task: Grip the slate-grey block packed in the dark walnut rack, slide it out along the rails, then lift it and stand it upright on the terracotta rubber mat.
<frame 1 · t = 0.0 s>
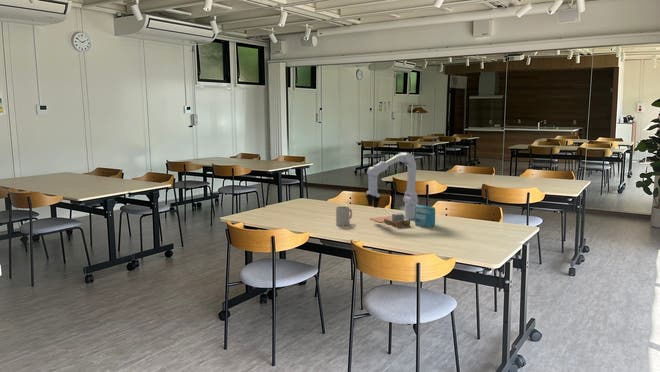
hand: (372, 206, 336), 10 cm above the table, tool pointing down, fingers open, 7 cm apart
mug: (344, 224, 332), on the table
blank block: (398, 225, 327), resting in rack
mat: (385, 219, 343), on the table
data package: (424, 226, 324), on the table
rack: (396, 224, 329), on the table
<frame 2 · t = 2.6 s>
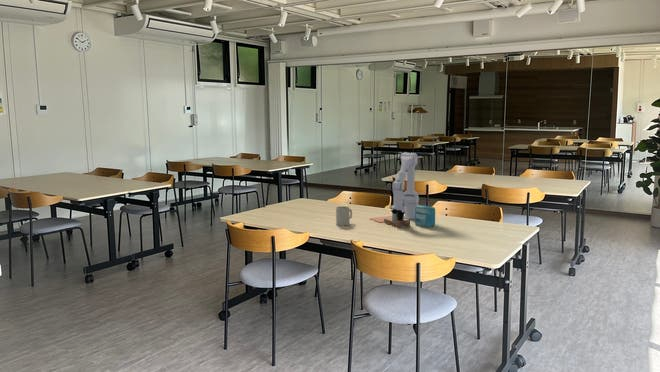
hand: (398, 221, 327), 2 cm above the table, tool pointing down, fingers closed on blank block, 4 cm apart
blank block: (398, 225, 327), resting in rack, touching gripper
everything else where it was.
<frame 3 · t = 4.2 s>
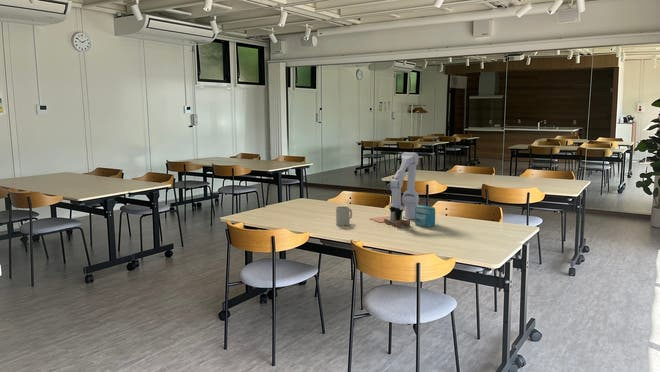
hand: (396, 219, 329), 3 cm above the table, tool pointing down, fingers closed on blank block, 4 cm apart
blank block: (396, 222, 329), point 1 cm above the table, touching gripper
everything else where it was.
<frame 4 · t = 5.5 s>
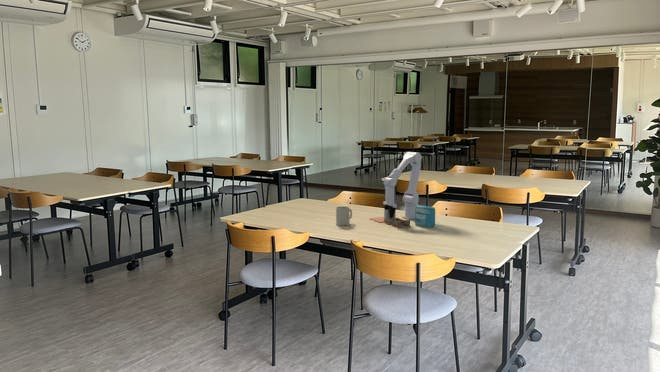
hand: (389, 216, 337), 3 cm above the table, tool pointing down, fingers closed on blank block, 4 cm apart
blank block: (389, 220, 337), point 1 cm above the table, touching gripper
everything else where it was.
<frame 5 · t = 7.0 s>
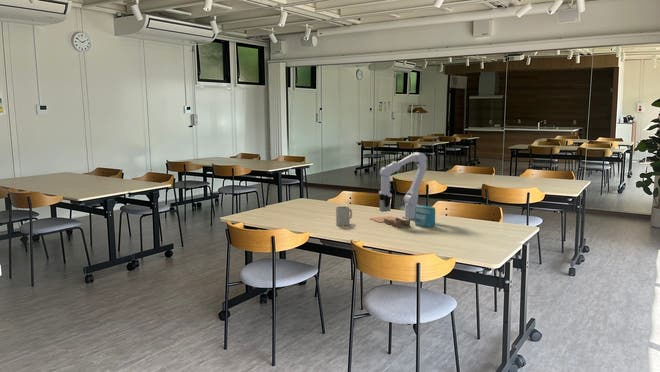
hand: (385, 206, 342), 9 cm above the table, tool pointing down, fingers closed on blank block, 4 cm apart
blank block: (384, 210, 342), point 6 cm above the table, touching gripper
everything else where it was.
when the fingers open (4 cm above the table, at t = 8.3 s): blank block stays where it is, resting on mat.
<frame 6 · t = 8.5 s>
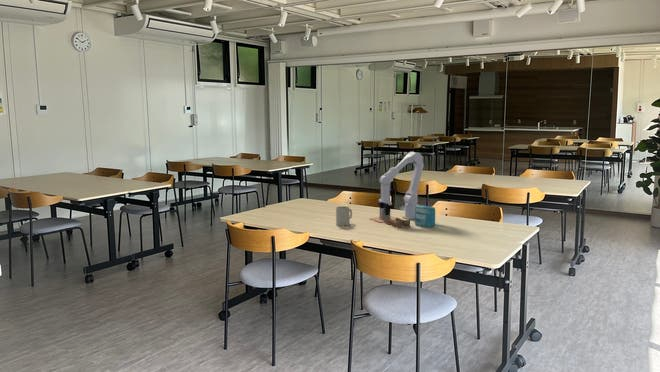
hand: (385, 214, 342), 4 cm above the table, tool pointing down, fingers open, 5 cm apart
blank block: (384, 219, 343), point 1 cm above the table, touching mat
everything else where it was.
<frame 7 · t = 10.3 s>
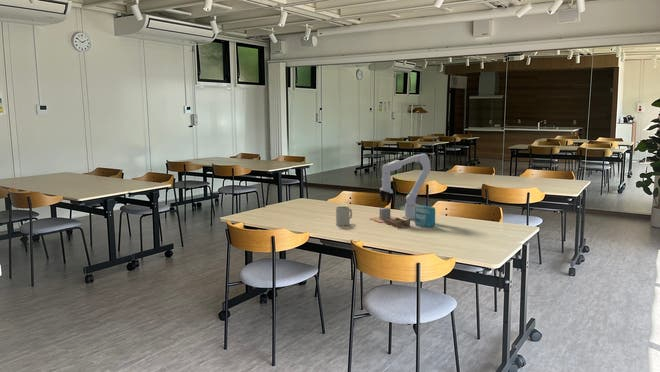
hand: (386, 202, 348), 10 cm above the table, tool pointing down, fingers open, 7 cm apart
nothing on the table moved.
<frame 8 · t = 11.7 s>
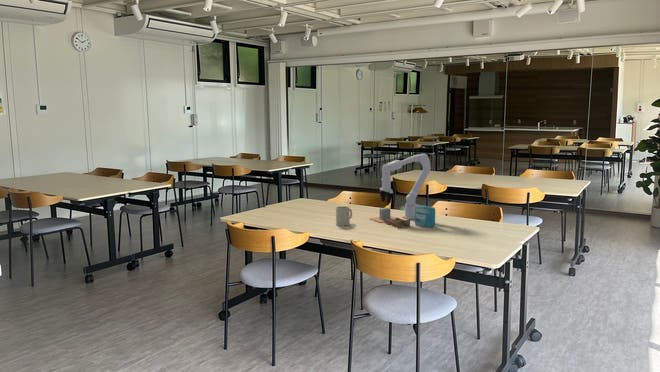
hand: (386, 202, 348), 10 cm above the table, tool pointing down, fingers open, 7 cm apart
nothing on the table moved.
at the end: blank block inside the target area (0.2 cm from its centre), point 0.6 cm above the table; blank block tilted 0°; the gripper is holding nothing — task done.
